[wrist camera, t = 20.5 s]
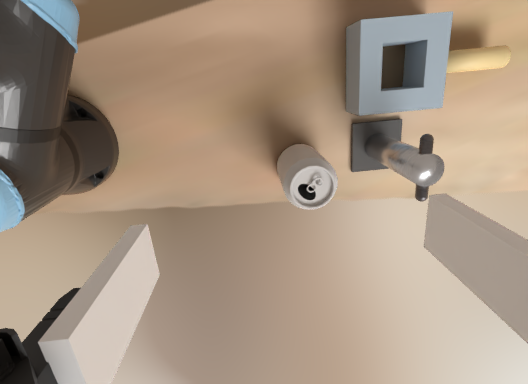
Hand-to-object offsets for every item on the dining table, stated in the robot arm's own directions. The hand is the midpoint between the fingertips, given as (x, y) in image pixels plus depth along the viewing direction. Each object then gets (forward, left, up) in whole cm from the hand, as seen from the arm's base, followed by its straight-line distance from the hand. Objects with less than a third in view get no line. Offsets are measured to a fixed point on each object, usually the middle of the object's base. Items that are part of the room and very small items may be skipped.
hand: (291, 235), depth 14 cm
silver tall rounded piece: (+19, -5, -36) cm, 41 cm away
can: (+6, -7, -37) cm, 38 cm away
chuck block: (+25, +7, -37) cm, 45 cm away
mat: (+19, -5, -37) cm, 42 cm away
